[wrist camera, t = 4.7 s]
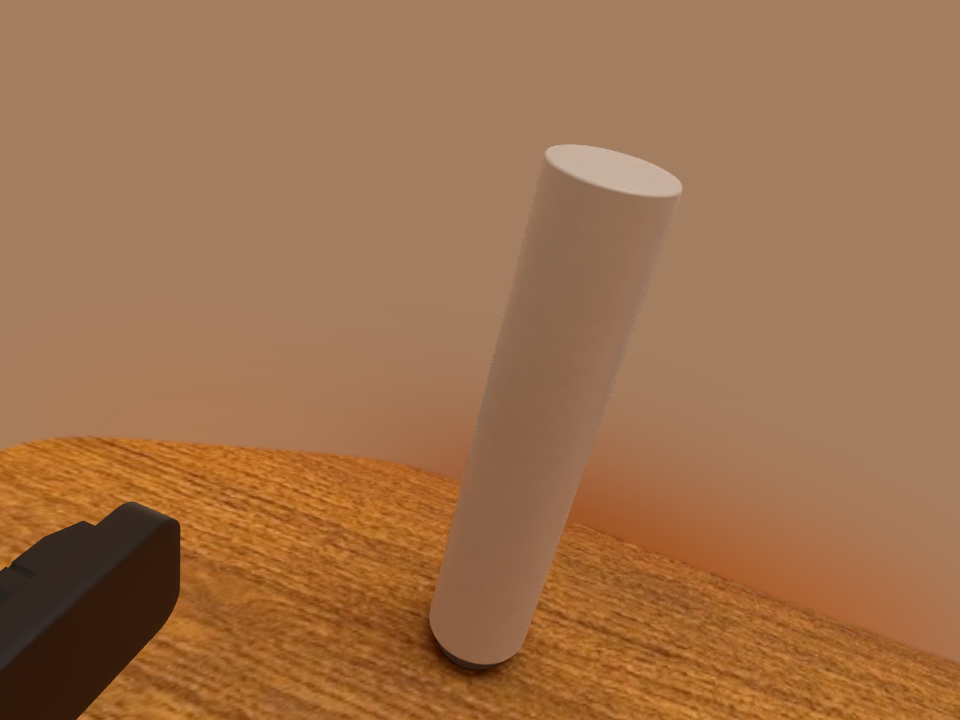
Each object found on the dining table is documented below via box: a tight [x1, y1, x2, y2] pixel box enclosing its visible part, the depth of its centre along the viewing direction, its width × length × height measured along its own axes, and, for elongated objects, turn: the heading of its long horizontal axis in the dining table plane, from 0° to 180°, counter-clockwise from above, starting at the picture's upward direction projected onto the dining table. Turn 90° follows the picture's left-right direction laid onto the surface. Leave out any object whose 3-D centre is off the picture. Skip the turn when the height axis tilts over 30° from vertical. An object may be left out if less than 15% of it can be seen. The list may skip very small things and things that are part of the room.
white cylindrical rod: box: [429, 145, 682, 670], centre depth 17 cm, size 3×3×13 cm
